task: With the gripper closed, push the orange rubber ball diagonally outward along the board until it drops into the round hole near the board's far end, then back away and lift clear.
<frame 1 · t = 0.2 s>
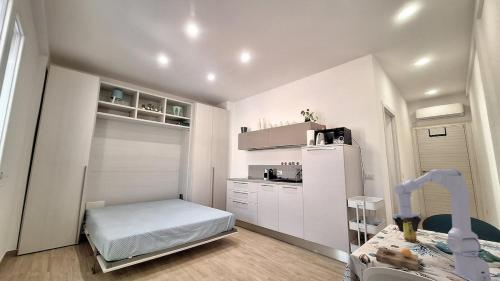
hand: (408, 231, 110), 10 cm above the table, tool pointing down, fingers open, 7 cm apart
sauce bottle: (410, 240, 124), on the table
board: (397, 260, 98), on the table
ball: (406, 252, 96), point 4 cm above the table, touching board
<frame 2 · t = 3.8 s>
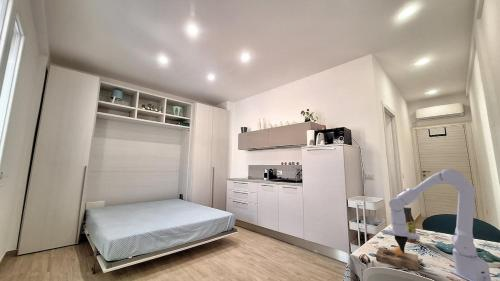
hand: (402, 252, 97), 4 cm above the table, tool pointing down, fingers closed, pressing on ball
ball: (398, 251, 98), point 4 cm above the table, tilted 83°, touching board, gripper
everything else where it was.
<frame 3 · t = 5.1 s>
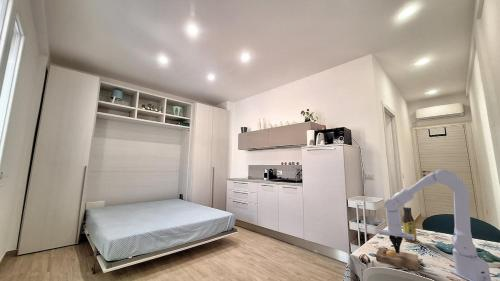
hand: (397, 252, 99), 4 cm above the table, tool pointing down, fingers closed
ball: (391, 255, 100), point 2 cm above the table, tilted 105°
everything else where it was.
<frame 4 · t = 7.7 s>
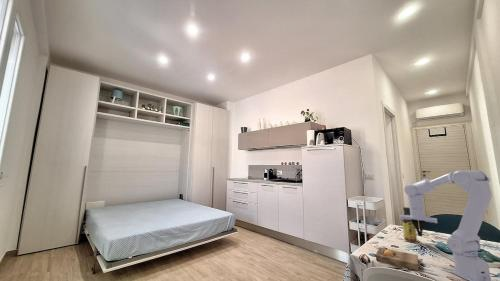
hand: (420, 235, 102), 10 cm above the table, tool pointing down, fingers closed
ball: (388, 254, 101), point 2 cm above the table, tilted 77°
everything else where it was.
at the end: ball 0.4 cm from the target spot on the board, point 2.0 cm above the board's base; ball point 2.0 cm above the table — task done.
